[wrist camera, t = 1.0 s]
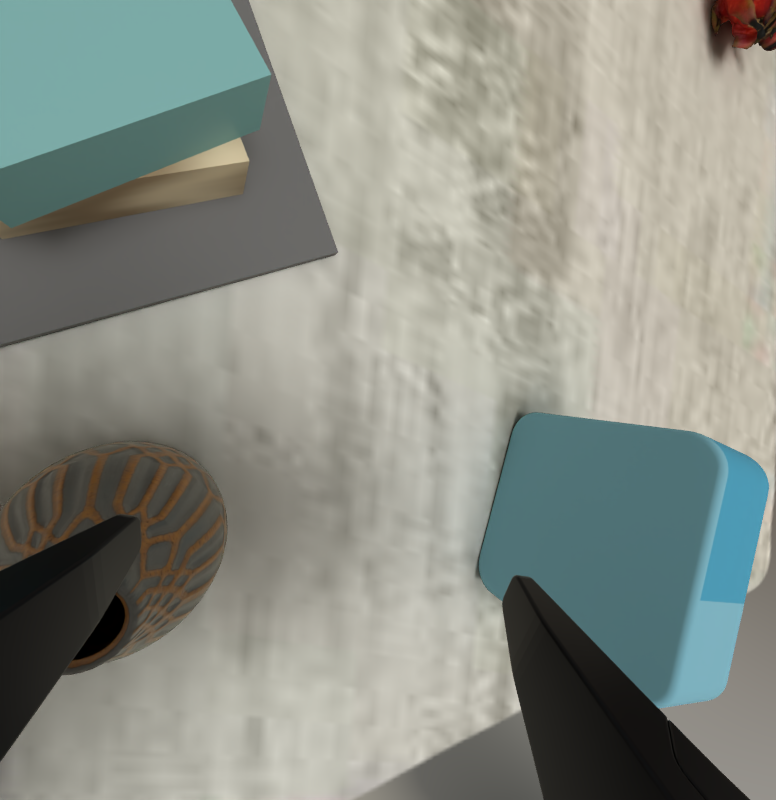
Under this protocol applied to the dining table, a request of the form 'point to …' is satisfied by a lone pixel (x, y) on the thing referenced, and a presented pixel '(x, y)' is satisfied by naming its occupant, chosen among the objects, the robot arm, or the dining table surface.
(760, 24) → the dragon fruit
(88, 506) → the vase
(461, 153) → the dining table surface
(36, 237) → the charcoal mat
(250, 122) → the teal block
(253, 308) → the dining table surface
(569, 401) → the dining table surface
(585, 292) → the dining table surface
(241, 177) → the beech block
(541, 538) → the light blue flat block
